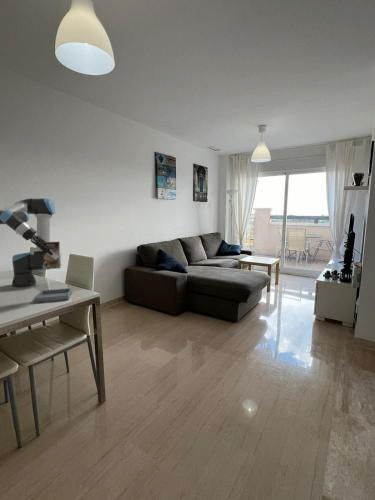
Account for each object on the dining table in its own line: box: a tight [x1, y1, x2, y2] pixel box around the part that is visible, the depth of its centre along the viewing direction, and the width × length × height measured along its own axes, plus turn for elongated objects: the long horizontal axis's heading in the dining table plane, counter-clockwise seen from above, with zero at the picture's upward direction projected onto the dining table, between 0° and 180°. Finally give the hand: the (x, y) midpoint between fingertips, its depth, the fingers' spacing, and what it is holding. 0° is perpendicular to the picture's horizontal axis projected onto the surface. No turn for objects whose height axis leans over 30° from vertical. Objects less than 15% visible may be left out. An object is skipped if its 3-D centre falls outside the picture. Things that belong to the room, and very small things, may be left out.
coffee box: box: [43, 241, 62, 270], centre depth 158 cm, size 9×6×16 cm
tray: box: [33, 287, 73, 304], centre depth 159 cm, size 16×18×3 cm
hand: (58, 257), depth 159 cm, fingers closed on coffee box, 7 cm apart
